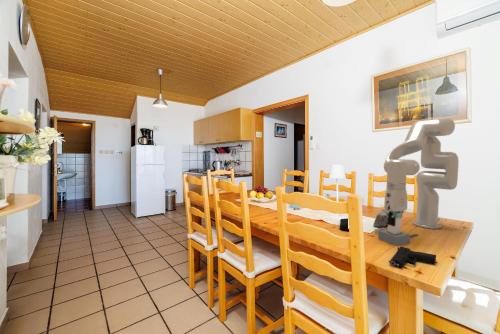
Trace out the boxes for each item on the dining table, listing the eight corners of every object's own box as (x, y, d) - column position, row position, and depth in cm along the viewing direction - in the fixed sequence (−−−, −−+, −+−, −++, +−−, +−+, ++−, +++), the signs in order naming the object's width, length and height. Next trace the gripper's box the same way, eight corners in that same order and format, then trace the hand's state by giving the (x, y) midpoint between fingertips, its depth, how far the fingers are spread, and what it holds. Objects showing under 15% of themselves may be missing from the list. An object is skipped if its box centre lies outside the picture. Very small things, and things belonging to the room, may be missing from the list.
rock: (380, 229, 118) (383, 211, 118) (365, 224, 125) (368, 207, 125) (394, 229, 126) (397, 212, 126) (379, 224, 134) (382, 208, 134)
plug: (400, 233, 102) (402, 212, 101) (394, 234, 101) (397, 213, 100) (392, 230, 106) (394, 210, 105) (387, 231, 104) (389, 211, 103)
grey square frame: (383, 231, 116) (383, 227, 116) (396, 235, 110) (396, 232, 110) (375, 233, 113) (375, 229, 113) (387, 237, 107) (387, 233, 107)
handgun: (429, 280, 72) (387, 266, 81) (435, 262, 84) (399, 251, 93) (430, 270, 72) (388, 257, 81) (436, 253, 84) (399, 243, 93)
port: (390, 236, 109) (391, 228, 109) (409, 242, 101) (410, 234, 101) (378, 238, 106) (378, 230, 106) (396, 245, 98) (397, 237, 98)
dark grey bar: (415, 235, 111) (416, 234, 111) (417, 235, 110) (417, 234, 110) (401, 238, 106) (401, 237, 106) (403, 239, 106) (403, 237, 106)
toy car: (354, 224, 129) (354, 215, 129) (354, 233, 114) (355, 224, 114) (340, 222, 132) (340, 214, 132) (339, 231, 117) (339, 222, 117)
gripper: (391, 188, 95) (390, 229, 97) (415, 186, 102) (413, 225, 103) (376, 186, 102) (374, 224, 103) (399, 184, 109) (397, 220, 110)
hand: (394, 224), depth 103 cm, fingers closed on plug, 3 cm apart
